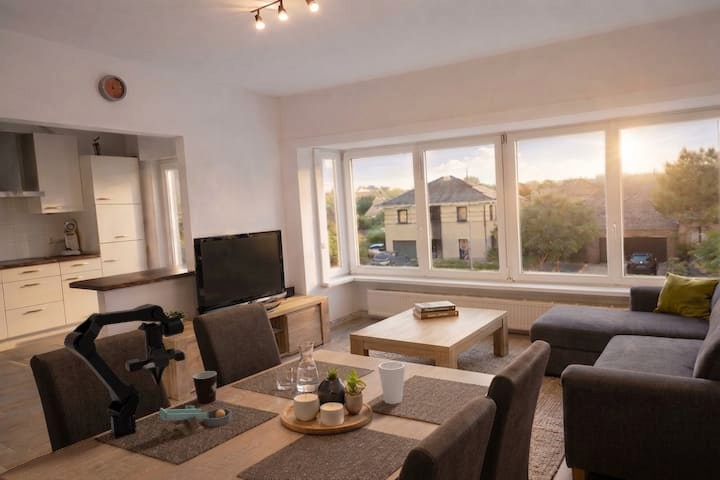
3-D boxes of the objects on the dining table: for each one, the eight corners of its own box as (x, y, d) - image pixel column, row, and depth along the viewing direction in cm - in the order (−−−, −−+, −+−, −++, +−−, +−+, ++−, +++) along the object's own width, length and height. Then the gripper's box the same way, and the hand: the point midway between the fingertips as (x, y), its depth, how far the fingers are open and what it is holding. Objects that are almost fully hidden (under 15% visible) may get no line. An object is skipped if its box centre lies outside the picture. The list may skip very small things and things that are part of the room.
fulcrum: (163, 443, 165) (162, 427, 164) (154, 435, 171) (153, 419, 171) (203, 430, 173) (202, 415, 173) (193, 422, 180) (192, 408, 179)
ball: (224, 421, 180) (216, 419, 178) (220, 418, 183) (212, 416, 181) (228, 412, 181) (220, 409, 179) (224, 409, 184) (216, 407, 182)
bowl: (211, 428, 174) (210, 421, 174) (200, 420, 181) (200, 413, 181) (235, 420, 180) (235, 413, 180) (224, 413, 187) (224, 406, 187)
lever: (164, 420, 166) (165, 412, 167) (150, 409, 177) (151, 401, 177) (207, 419, 175) (208, 411, 175) (191, 408, 186) (192, 400, 186)
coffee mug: (204, 406, 194) (202, 380, 193) (190, 402, 199) (188, 376, 198) (229, 396, 203) (228, 371, 202) (215, 392, 208) (213, 367, 207)
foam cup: (407, 405, 186) (405, 369, 185) (380, 406, 186) (378, 370, 185) (405, 395, 195) (403, 360, 194) (380, 396, 195) (378, 361, 194)
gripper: (132, 350, 171) (136, 398, 172) (189, 339, 183) (192, 383, 184) (123, 344, 180) (126, 389, 181) (177, 333, 191) (180, 376, 192)
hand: (157, 384), depth 184 cm, fingers closed
